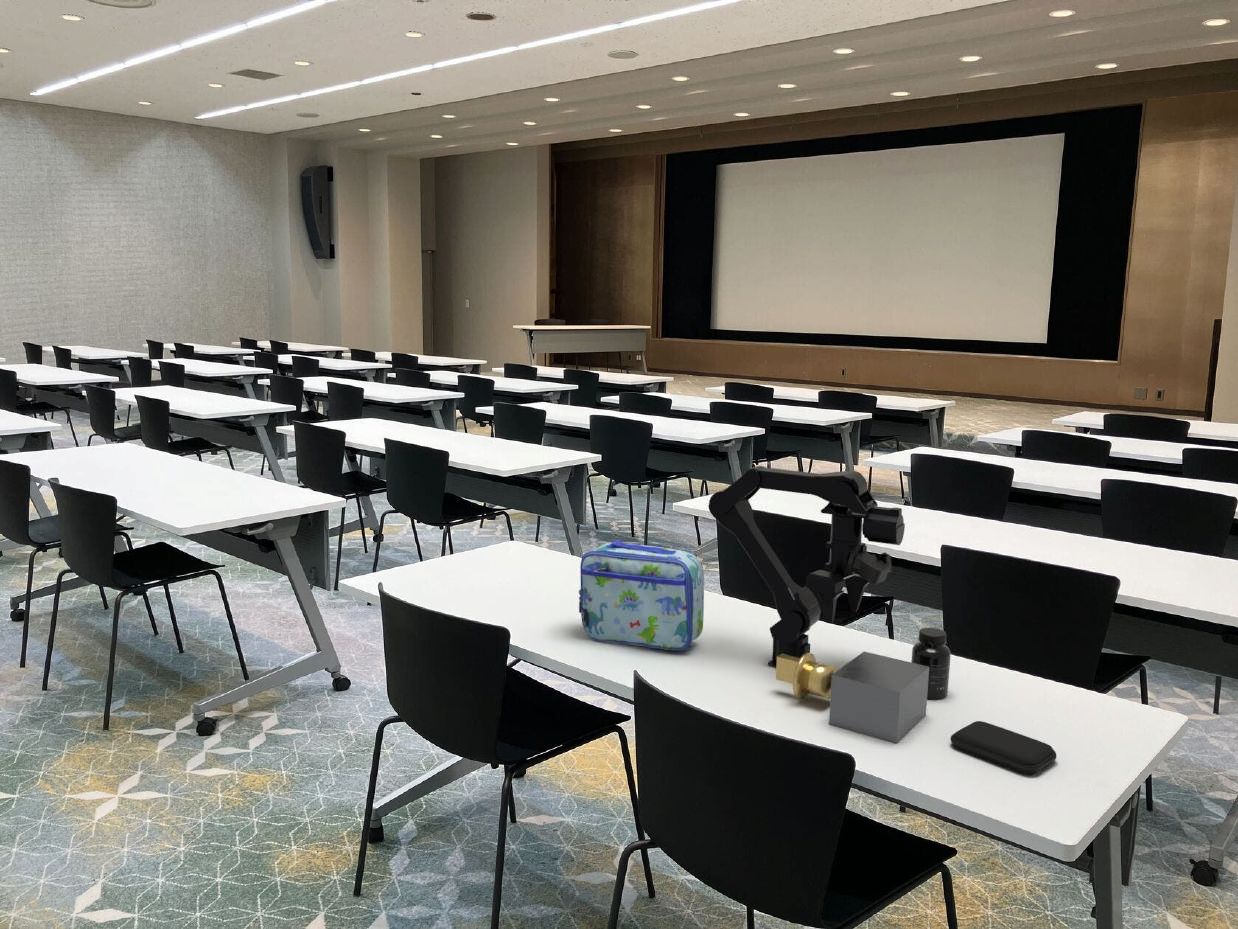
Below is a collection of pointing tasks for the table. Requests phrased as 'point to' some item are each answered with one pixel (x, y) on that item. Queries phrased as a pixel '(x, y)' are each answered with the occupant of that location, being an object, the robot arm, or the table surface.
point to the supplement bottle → (933, 660)
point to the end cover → (805, 675)
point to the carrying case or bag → (1003, 747)
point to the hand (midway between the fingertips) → (842, 616)
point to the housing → (879, 696)
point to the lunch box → (642, 596)
